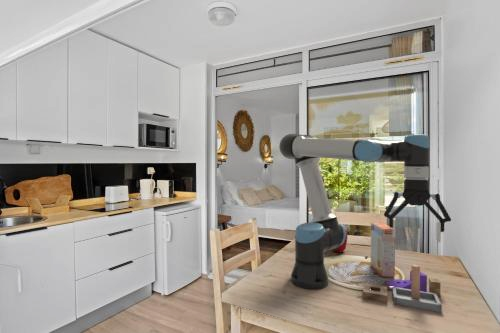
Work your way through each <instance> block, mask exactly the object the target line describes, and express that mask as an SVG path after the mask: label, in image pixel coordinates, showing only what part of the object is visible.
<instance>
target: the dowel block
mask: <svg viewBox="0 0 500 333" xmlns="http://www.w3.org/2000/svg"><path fill="white" fill-rule="evenodd" d="M370 289H371V290H370ZM362 290H363V291H362V294H363V296H362V298H363V299H364V300H368V301H369V300H370V301H376V302H382V303H385V304H386V303H387V304H388V303H389V302H388V301H389V300H388V299H389V298H388V287H387V286H386V285H377V284H375V283H367V282H364V283H363V288H362Z"/></svg>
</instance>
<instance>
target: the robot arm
mask: <svg viewBox="0 0 500 333" xmlns="http://www.w3.org/2000/svg"><path fill="white" fill-rule="evenodd" d="M278 147H279V151H280V153H281V155H282V156H283V157H284V158H286V159H289V160H294V162H295V166H296V167H298V168H299V170H300V173H301V176H302V179H303V180H302V181H303V183H304V188H305V193H306V196H307V200H308V203H309V207H310V211H311V215H312V219H311V220H310V222H304V223H300V224H299V225H297V227H296V228H295V234H294V239H295V243H294V245H295V246H294V247H295V248H294V249H295V250H294V252H295V254H294V255H295V256H294V258H295V261H294V265H293V267H292V271H291V274H290V281H291V283H292V284H294V285H295V286H296V287H298V288H302V289H309V290H319V289H323V288H326V287H327V286H328V285H329V276H328V273H327V269H326V266H325V253H326V252H329V251H333V250H332V249H336V248H338V247H339V246H341V245H342V244H343V243H344V241H345V238H346V232H347V230H346V228H345V226H344V225H343V224H342V223H341V222H339V221H338V217H337V215H335V214H334V213H332V208H331V205H330V201H329V199H328V194H327V191H326V187H325V184H324V181H323V180H324V179H323V176H322V172H321V169H320V166H319V162H320V161H321V158H323V159H334V160H345V161H346V160H347V161H358V162H364V163H374V162H375V163H377V162H378V163H391V162H392V163H394V162H395V163H397V162H399V163H402V162H403V177H404V178H405V179H403V192H399V191H394V192H393V197H392V198H391V201H390V203H389V204H388V206H387V208H385V209H386V210H385V211H384V213H383V216H384V217H385V218H388V220H389V222H388V226H390V228H393V238H395V239H396V222H397V221H396V218H395V217H396V216H397V215H398V214H400V212H401V211H402V210H404V208H406V207H407V206H408V205H410V206H418V207H420V206H425V208H427V209H428V211H430V212H431V213H432V214H433V215H434V217H435V218H436V219H437V220H438V221H437V220H436V226H435V227H436V233H435V234H436V235H435V236H436V237H435V239H436V242H437V243H441V234H442V233H444V232H445V224H446V223H448V222H451V221H452V219H451V216H450V215H449V213H448V211H447V209H446V208H445V206H444V205H443V202H442V201H441V195H440V193H438V192H434V193H430V192H429V190H430V189H429V188H430V181H429V178H430V138H429V136H428V135H427V134H419V133H418V134H417V133H416V134H415V133H414V134H407V135H405V136H404V139H403V140H402V141H401V140H399V141H383V140H381V141H380V140H375V139H345V138H343V139H341V138H317V137H316V136H312V135H309V134H298V133H297V134H296V133H289V134H286V135H284V136H283V137H282V138H281V140H280V142H279V146H278ZM401 197H403V198H404V200H403V201H402V202H401V204H399V205H398V206H397V207H396V208H395V210H393V208H394V206H395V204H396V203H397V201H398V199H400V198H401ZM430 198H431V199H432V200H433V201H435V203H436V205H437V206H438V208H439V210H440V212H441V213H442V215H443V217H442V216H441V214H439V212H437V210H435V209H434V207H433V206H432V205H431V204H430V203H429V202H428V200H430ZM392 210H393V211H392ZM345 230H346V231H345Z"/></svg>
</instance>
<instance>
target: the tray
mask: <svg viewBox="0 0 500 333" xmlns="http://www.w3.org/2000/svg"><path fill="white" fill-rule="evenodd" d="M391 291H392V292H391V293H392V298H393V299H392V300H393V304H394V305H398V306H403V307H408V308H414V309H415V308H416V309H421V310H424V311H426V310H427V311H431V312H437V313H442V310H443V309H442V307H443V306H442V303H441V300H440V298H439V296H437V294H436V293H430V292H429V291H427V292H423V291H420V300H415V299H411V290H410V289H404V288H398V287H393V290H391Z"/></svg>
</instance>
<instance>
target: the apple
mask: <svg viewBox="0 0 500 333" xmlns="http://www.w3.org/2000/svg"><path fill="white" fill-rule="evenodd" d="M345 231H346V238H345V241H344V243H343V244H342V245H341V246H339V247H338V248H336V249H332V250H331V251H333V252H335V253H342V252H344V251H346V248H347V243H348V232H347V230H346V229H345Z"/></svg>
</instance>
